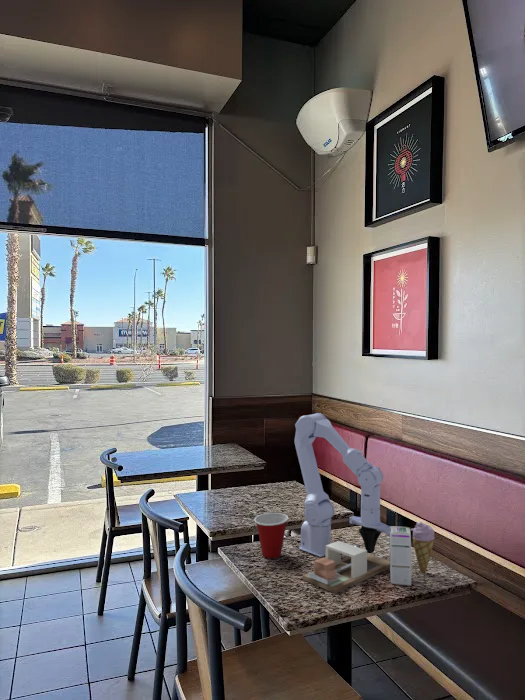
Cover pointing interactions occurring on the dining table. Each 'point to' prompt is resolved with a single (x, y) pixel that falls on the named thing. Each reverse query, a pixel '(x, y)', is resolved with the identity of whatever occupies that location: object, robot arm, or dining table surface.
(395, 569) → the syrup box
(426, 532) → the ice cream cone
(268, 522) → the plastic cup
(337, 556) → the tunnel
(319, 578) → the sled
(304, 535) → the robot arm
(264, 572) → the dining table surface
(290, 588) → the dining table surface
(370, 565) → the frame
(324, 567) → the terracotta block
